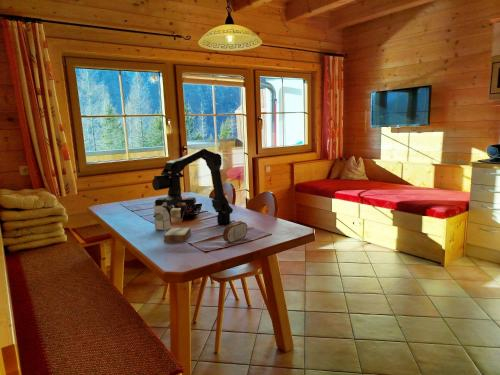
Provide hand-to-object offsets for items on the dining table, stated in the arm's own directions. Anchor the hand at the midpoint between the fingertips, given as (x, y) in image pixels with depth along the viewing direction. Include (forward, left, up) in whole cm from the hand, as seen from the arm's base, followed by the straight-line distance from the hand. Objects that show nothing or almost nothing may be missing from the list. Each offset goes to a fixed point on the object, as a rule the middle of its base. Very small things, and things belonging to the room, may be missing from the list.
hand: (176, 218), depth 166 cm
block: (0, 0, -1) cm, 1 cm away
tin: (-29, +4, -10) cm, 31 cm away
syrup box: (+12, -15, -10) cm, 22 cm away
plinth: (0, 0, -10) cm, 10 cm away
